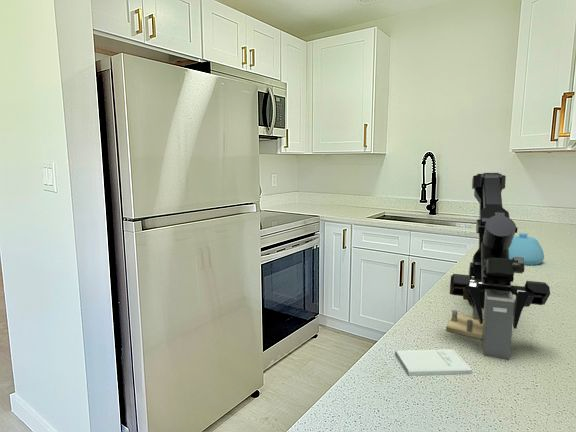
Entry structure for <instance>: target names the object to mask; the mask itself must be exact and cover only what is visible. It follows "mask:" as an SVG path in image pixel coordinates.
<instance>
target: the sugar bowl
mask: <svg viewBox="0 0 576 432" xmlns="http://www.w3.org/2000/svg"><path fill="white" fill-rule="evenodd" d="M528 235H529V234H528V233H527V232H519V233H518V235H514V236H513V240H512V243H511V246H510V247H509V259H513V258H514V257H523V258H524V266H538V265H540V264H541V263H542V262H543V261H544V260H545V254H544V251H543V247H542V245H541V244H540V242H539V241H538V239H536V238H535V237H531V236H528Z"/></svg>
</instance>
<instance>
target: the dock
mask: <svg viewBox="0 0 576 432" xmlns="http://www.w3.org/2000/svg"><path fill="white" fill-rule="evenodd" d="M445 331H446V332H449V333H454V334H458V335H462V336H466V337H471V338H476V339H479V340H482V331H483V323H482V324H480V323H479V320H478V318H477V316H476V314H475V311H474V309H473V308H472V316H471V315H466V314H462V313H459V312H458V310H456V309H452V311H451V319H449V322H448V324H447V325H446V326H445Z"/></svg>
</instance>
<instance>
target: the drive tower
mask: <svg viewBox="0 0 576 432" xmlns="http://www.w3.org/2000/svg"><path fill="white" fill-rule="evenodd" d="M515 299H516V298H514V295H512V293H511V292H509V291H500V290H490V289H485V300H484V307H483V331H482V339H481V350H482V355H483V357H489V358H493V359H494V358H496V359H502V360H507V361H510V360H511V348H512V347H511V346H512V335H513V334H512V333H513V311H514V302H515Z"/></svg>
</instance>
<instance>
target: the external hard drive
mask: <svg viewBox="0 0 576 432" xmlns="http://www.w3.org/2000/svg"><path fill="white" fill-rule="evenodd" d="M394 355H395V357H396V359H398V361H399V363H400V365H401V366H402V368H403V370H404V371H405V373H406V374H407V376H408V377H414V376H416V377H420V376H421V377H422V376H445V375H446V376H447V375H449V376H450V375H452V376H453V375H471V374H473V369H472V367H471V366H470V365H469V364H468V363H466V361H465V360H464V359H463V358H462V357H461V356H460V355H459V353H457V352H456V351H455V350H454V349H453V348H450V349H449V348H448V349H447V348H445V349H409V350H408V349H407V350H403V349H402V350H401V349H400V350H399V349H398V350H394Z"/></svg>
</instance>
